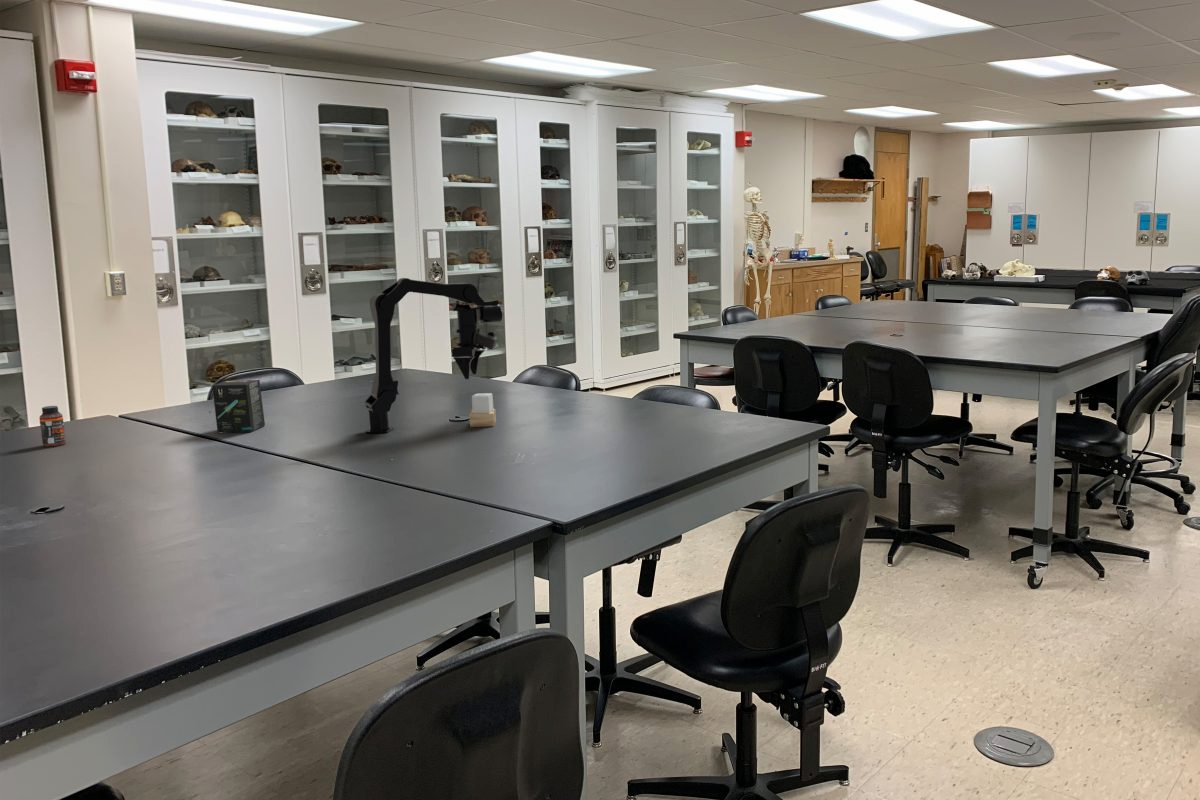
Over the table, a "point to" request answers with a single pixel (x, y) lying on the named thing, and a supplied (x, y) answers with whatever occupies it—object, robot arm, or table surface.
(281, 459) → the table surface
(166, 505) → the table surface
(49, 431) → the supplement bottle
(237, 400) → the tampon box
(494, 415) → the oak block
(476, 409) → the white cube
